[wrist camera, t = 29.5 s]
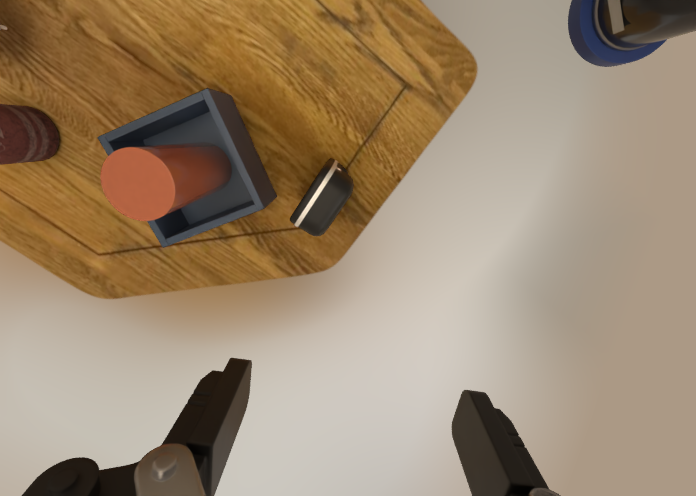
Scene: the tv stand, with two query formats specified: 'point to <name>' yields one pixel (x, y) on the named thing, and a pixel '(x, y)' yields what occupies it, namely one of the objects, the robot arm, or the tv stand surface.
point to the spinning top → (3, 27)
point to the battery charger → (323, 199)
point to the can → (26, 135)
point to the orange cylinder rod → (163, 177)
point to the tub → (202, 126)
